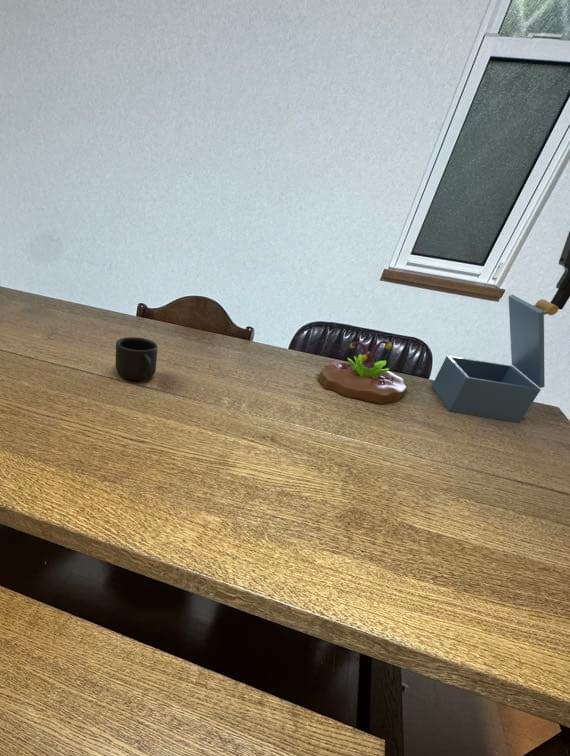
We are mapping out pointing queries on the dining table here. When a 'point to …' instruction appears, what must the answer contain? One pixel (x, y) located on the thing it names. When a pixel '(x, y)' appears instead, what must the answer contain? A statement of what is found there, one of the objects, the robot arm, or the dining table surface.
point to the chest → (484, 389)
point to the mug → (136, 358)
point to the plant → (364, 378)
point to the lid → (529, 336)
